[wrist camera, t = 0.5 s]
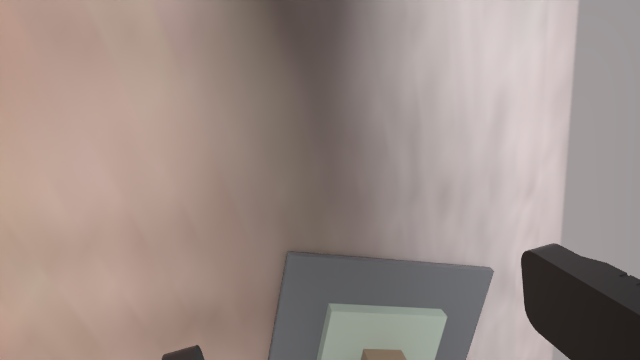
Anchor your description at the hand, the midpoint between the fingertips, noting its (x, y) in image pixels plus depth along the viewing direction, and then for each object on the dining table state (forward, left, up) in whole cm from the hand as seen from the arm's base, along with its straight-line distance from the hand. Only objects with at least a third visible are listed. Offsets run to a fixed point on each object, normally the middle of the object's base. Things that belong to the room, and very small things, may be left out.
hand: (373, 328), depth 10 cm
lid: (+15, +10, -18) cm, 25 cm away
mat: (+15, +9, -19) cm, 26 cm away
